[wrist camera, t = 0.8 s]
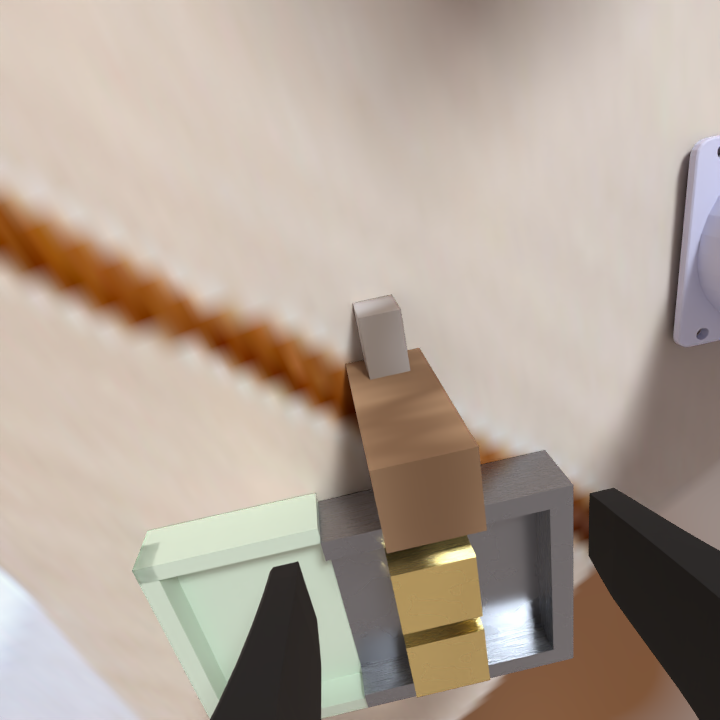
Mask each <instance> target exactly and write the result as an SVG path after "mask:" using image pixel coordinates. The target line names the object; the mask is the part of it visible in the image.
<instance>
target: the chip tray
mask: <svg viewBox="0 0 720 720" xmlns="http://www.w3.org/2000/svg"><path fill="white" fill-rule="evenodd" d="M297 561H298V562H299V565H300V568H301V571H302V574H303V577H304V580H305V583H306V587H307V590H308V593H309V596H310V599H311V602H312V605H313V608H314V611H315V614H316V618H317V623H318V633H319V644H320V655H321V719H322V718H326V717H331V716H335V715H339V714H343V713H347V712H351V711H355V710H360V709H364V708H368V705H367V702H366V698H365V694H364V686H363V678H362V669H361V664H360V660H359V657H358V653H357V649H356V646H355V642H354V639H353V635H352V632H351V628H350V625H349V621H348V618H347V614H346V611H345V607H344V604H343V600H342V597H341V593H340V590H339V586H338V583H337V579H336V575H335V572H334V568H333V565H332V561H331V560H329V561H326V560H325V557H324V554H323V550H322V547H321V543H320V527H319V510H318V500H317V496H316V493H313V494H309V495H304V496H300V497H296V498H291V499H287V500H282V501H278V502H273V503H269V504H265V505H260V506H256V507H251V508H247V509H242V510H238V511H234V512H229V513H225V514H220V515H216V516H211V517H207V518H203V519H198V520H194V521H189V522H185V523H181V524H176V525H172V526H167V527H163V528H158V529H154V530H150V531H147V534H146V536H145V539H144V541H143V544H142V547H141V549H140V552H139V554H138V557H137V559H136V562H135V565H134V567H133V570H132V572H133V573H134V575H135V577H136V579H137V581H138V583H139V585H140V587H141V589H142V591H143V593H144V594H145V596H146V598H147V600H148V602H149V604H150V606H151V608H152V610H153V612H154V614H155V615H156V617H157V619H158V621H159V623H160V625H161V627H162V629H163V631H164V633H165V635H166V636H167V638H168V640H169V642H170V644H171V646H172V648H173V650H174V652H175V654H176V655H177V657H178V659H179V661H180V663H181V665H182V667H183V669H184V671H185V673H186V675H187V676H188V678H189V680H190V682H191V684H192V686H193V688H194V690H195V692H196V694H197V696H198V697H199V699H200V701H201V703H202V705H203V707H204V709H205V711H206V713H207V715H208V717H209V718H211V716H212V714H213V712H214V710H215V708H216V706H217V704H218V702H219V700H220V698H221V696H222V694H223V691H224V689H225V687H226V685H227V683H228V680H229V678H230V676H231V674H232V672H233V670H234V667H235V665H236V663H237V661H238V658H239V656H240V653H241V651H242V648H243V646H244V643H245V641H246V638H247V636H248V633H249V631H250V628H251V626H252V623H253V621H254V618H255V615H256V612H257V610H258V607H259V604H260V601H261V598H262V595H263V592H264V589H265V586H266V583H267V580H268V576H269V573H270V571H271V569H272V568H273V567H276V566H280V565H285V564H289V563H293V562H297Z"/></svg>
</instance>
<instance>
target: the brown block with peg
mask: <svg viewBox="0 0 720 720" xmlns="http://www.w3.org/2000/svg"><path fill="white" fill-rule="evenodd" d="M353 307H354V312H355V317H356V322H357V327H358V332H359V337H360V342H361V347H362V352H363V357H364V360H361V361H357V362H352V363H348V364H346V369H347V373H348V378H349V383H350V387H351V392H352V396H353V401H354V406H355V410H356V415H357V419H358V424H359V429H360V433H361V438H362V442H363V447H364V451H365V456H366V460H367V465H368V469H369V474H370V479H371V483H372V488H373V492H374V497H375V501H376V506H377V510H378V515H379V519H380V524H381V529H382V533H383V538H384V542H385V547H386V551H387V553H392V552H396V551H400V550H405V549H409V548H413V547H417V546H422V545H426V544H430V543H435V542H439V541H443V540H448V539H452V538H456V537H461V536H465V535H469V534H474V533H478V532H482V531H487V526H486V516H485V506H484V496H483V485H482V475H481V465H480V455H479V446H478V445H477V443H476V441H475V440H474V438H473V436H472V435H471V433H470V431H469V430H468V428H467V426H466V425H465V423H464V421H463V420H462V418H461V416H460V415H459V413H458V411H457V410H456V408H455V406H454V405H453V403H452V401H451V400H450V398H449V396H448V395H447V393H446V391H445V390H444V388H443V386H442V385H441V383H440V381H439V380H438V378H437V376H436V375H435V373H434V371H433V370H432V368H431V367H430V365H429V363H428V362H427V360H426V358H425V357H424V355H423V353H422V352H421V350H420V348H416V349H412V350H407V346H406V339H405V333H404V326H403V320H402V314H401V309H400V307H399V306H398V304H397V302H396V301H395V299H394V298H393V296H392V295H387V296H383V297H378V298H373V299H369V300H364V301H359V302H355V303H353Z"/></svg>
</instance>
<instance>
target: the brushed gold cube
mask: <svg viewBox="0 0 720 720" xmlns="http://www.w3.org/2000/svg"><path fill="white" fill-rule="evenodd" d="M384 549H385V554H386V558H387V563H388V567H389V572H390V577H391V581H392V586H393V590H394V595H395V599H396V604H397V609H398V613H399V618H400V622H401V627H402V632H403V635H405V634H409V633H414V632H418V631H422V630H426V629H430V628H435V627H439V626H443V625H447V624H452V623H456V622H460V621H464V620H468V619H473V618H477V617H481V616H483V613H482V604H481V595H480V586H479V577H478V569H477V560H476V555H475V553H474V551H473V548H472V546H471V544H470V541H469V539H468V537H467V535H465V536H461V537H456V538H452V539H448V540H443V541H439V542H435V543H430V544H426V545H422V546H417V547H413V548H409V549H405V550H400V551H396V552H392V553H387V551H386V547H385V548H384Z"/></svg>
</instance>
